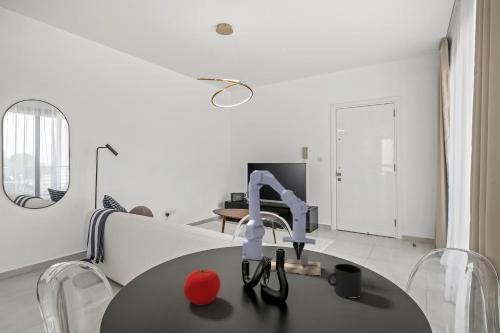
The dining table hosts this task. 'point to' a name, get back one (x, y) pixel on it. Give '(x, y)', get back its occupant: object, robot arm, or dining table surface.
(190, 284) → the tomato
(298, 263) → the board
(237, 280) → the dining table surface
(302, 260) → the fader tab
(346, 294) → the mug
